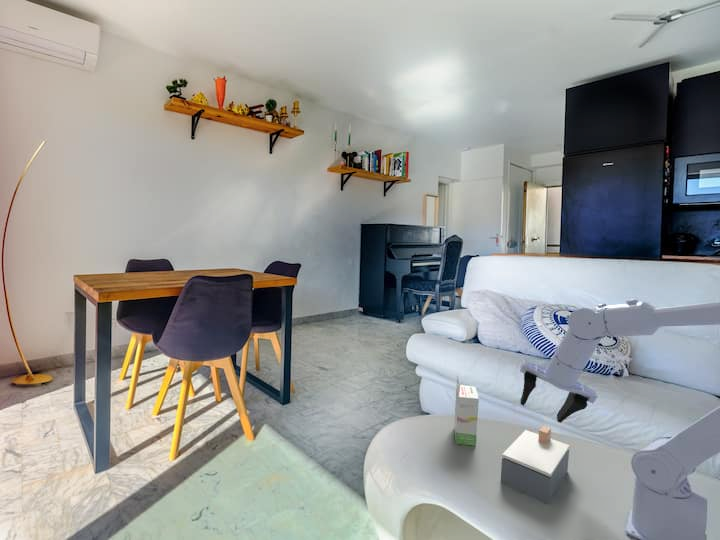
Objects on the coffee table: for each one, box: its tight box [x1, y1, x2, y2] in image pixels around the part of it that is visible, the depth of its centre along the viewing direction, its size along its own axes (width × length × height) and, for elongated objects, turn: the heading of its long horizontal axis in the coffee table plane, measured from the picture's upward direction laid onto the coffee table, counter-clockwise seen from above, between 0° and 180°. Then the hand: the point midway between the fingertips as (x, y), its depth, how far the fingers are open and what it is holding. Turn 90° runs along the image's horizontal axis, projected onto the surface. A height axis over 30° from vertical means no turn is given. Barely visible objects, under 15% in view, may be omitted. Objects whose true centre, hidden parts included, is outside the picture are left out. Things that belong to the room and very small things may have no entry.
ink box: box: [453, 374, 480, 447], centre depth 91 cm, size 9×5×15 cm, turn 168°
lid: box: [501, 425, 570, 477], centre depth 76 cm, size 9×14×3 cm, turn 138°
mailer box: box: [500, 448, 570, 505], centre depth 76 cm, size 9×14×5 cm, turn 138°
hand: (540, 410), depth 79 cm, fingers open, 7 cm apart
